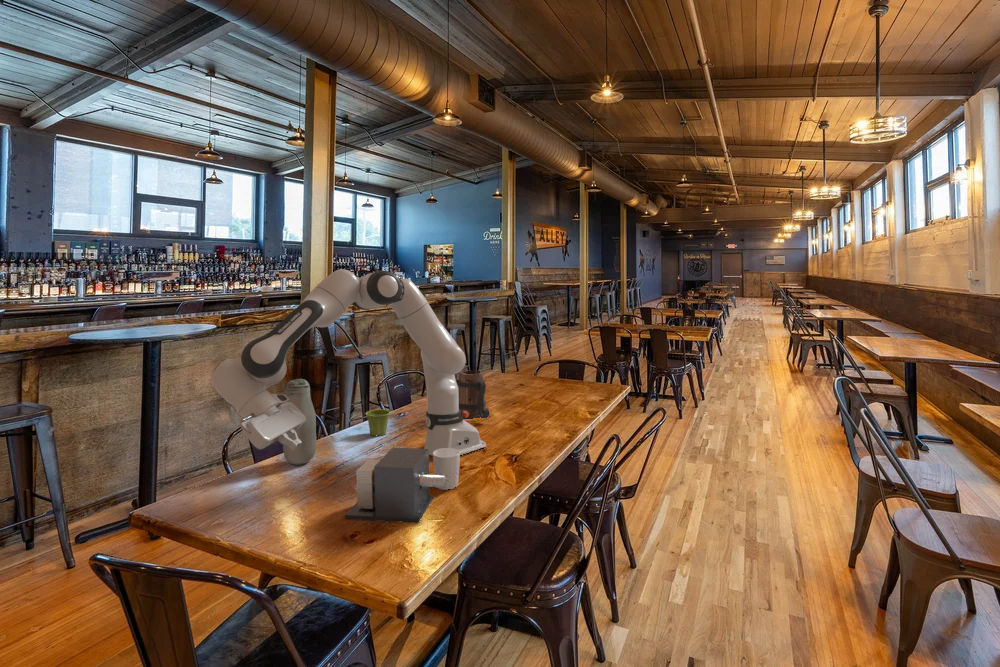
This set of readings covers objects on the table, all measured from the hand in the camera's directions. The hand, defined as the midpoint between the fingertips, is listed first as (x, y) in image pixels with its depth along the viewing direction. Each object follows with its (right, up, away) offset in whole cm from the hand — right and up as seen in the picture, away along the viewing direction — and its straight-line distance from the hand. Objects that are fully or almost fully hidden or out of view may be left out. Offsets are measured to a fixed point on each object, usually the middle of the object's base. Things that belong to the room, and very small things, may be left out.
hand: (297, 446), depth 131 cm
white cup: (+38, -15, +13) cm, 43 cm away
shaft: (+29, -14, -2) cm, 32 cm away
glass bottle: (-12, -13, +31) cm, 36 cm away
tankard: (+43, -7, +85) cm, 95 cm away
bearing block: (+25, -16, -2) cm, 30 cm away
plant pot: (+6, -10, +62) cm, 63 cm away
